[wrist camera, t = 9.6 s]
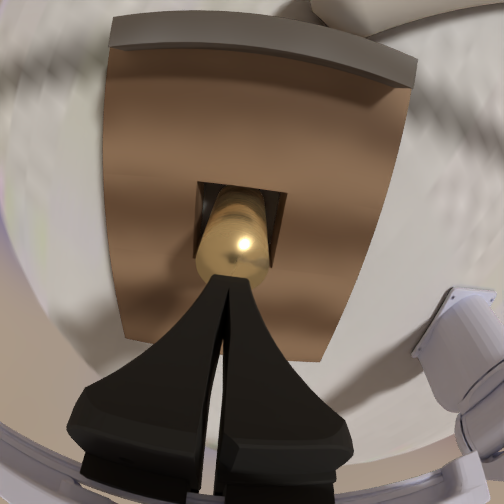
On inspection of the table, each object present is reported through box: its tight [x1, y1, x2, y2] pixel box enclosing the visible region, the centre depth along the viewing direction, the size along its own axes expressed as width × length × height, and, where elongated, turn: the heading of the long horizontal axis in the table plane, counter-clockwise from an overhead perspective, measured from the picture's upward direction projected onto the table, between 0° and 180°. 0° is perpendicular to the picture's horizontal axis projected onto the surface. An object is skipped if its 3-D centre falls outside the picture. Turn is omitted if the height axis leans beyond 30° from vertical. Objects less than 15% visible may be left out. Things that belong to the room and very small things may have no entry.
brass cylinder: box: [196, 185, 269, 290], centre depth 16 cm, size 3×3×7 cm
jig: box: [103, 10, 418, 362], centre depth 16 cm, size 22×16×5 cm
